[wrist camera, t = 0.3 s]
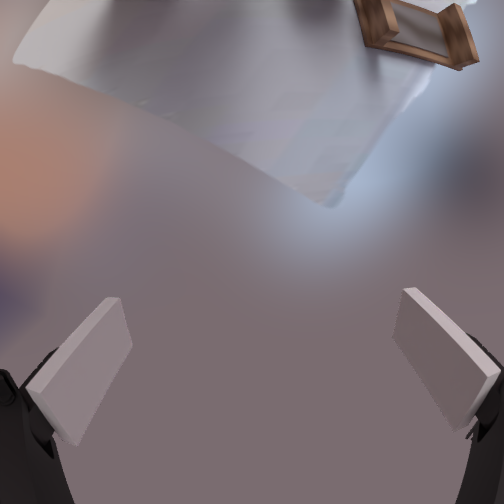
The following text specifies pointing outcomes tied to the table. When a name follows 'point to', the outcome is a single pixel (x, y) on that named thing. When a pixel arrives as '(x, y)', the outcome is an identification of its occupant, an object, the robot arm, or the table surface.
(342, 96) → the table surface
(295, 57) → the table surface
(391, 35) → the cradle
